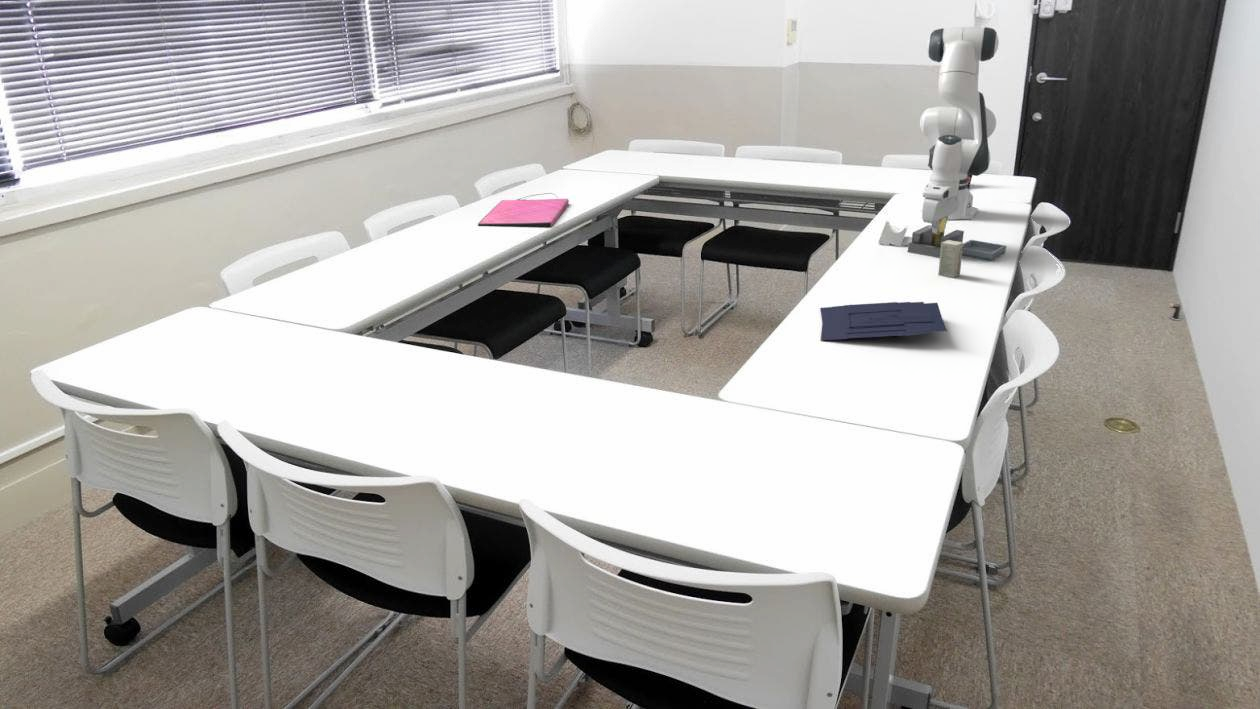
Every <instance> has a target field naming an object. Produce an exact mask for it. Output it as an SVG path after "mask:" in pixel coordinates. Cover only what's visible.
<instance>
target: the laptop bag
mask: <svg viewBox="0 0 1260 709" xmlns="http://www.w3.org/2000/svg"><path fill="white" fill-rule="evenodd" d="M548 194H551V195H554V196H555V197H556V198H552V199H551V198H550V199H549V198H547V199H527V198H530V195H528V196H525V197H521V198H517V199H502V200H500V201H499V202H498V203H497V204H496V205H495V206H494V207H493V208H492V209H491V210H490V211H489V212H488V213H487V214H486V215H485V216H484V217H483V218H481V220H479V222H478V223H477V226H478V227H508V228H509V227H511V228H513V227H515V228H552V227H553V225H554V224H555V223H556V222H557V220H558V219H559V218H560V216H561V215H562V214H563V212H564V211H565V210H566V208H568V205H569V204H570V200H569V198H558V196H556V194H555V193H551V192H549V193H548V192H547V193H546V192H545V193H544V195H548ZM539 195H542V193H538V194H536V196H539ZM533 196H534V197H535V194H533V195H531V197H533Z"/></svg>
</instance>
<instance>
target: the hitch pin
mask: <svg viewBox="0 0 1260 709" xmlns="http://www.w3.org/2000/svg"><path fill="white" fill-rule="evenodd" d="M946 213H947V212H946ZM945 223H946V216H945V217H944V218H943V219H941V220H939V223H938V225H939V227H940V228H939V232H938V233H932V241H931V246H935V247H940V242H941V237H943V236H945V230H946V228H945ZM946 224H947V223H946Z"/></svg>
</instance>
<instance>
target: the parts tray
mask: <svg viewBox="0 0 1260 709" xmlns="http://www.w3.org/2000/svg"><path fill="white" fill-rule="evenodd" d="M1006 252H1007V245H1004V244H997V243H993V242H987V241H981V240H974V239H970V240H968V241H966V242H963V251H962V257H964V258H965V257H966V258H970V259H977V260H981V261H987V262H991V261H992V262H993V261H995V260H997V259H998V258H1000V257H1002V256H1003V255H1005V254H1006ZM1001 255H1002V256H1001ZM996 258H997V259H996Z"/></svg>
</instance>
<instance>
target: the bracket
mask: <svg viewBox="0 0 1260 709" xmlns="http://www.w3.org/2000/svg"><path fill="white" fill-rule="evenodd" d="M890 222H891V221H890V220H889V219H886V222H885V224H884V226H883V229H882V231H881V234H880V237H879V240H878V243H879V244H881V245H884V246H890V245H893V246H896V247H901V246H902V243H903V240H904V238H905V236H906V233H907V230H908V225H905V226H904V227H903V228H901V227H899V226H896V225H893V224H890Z"/></svg>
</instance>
